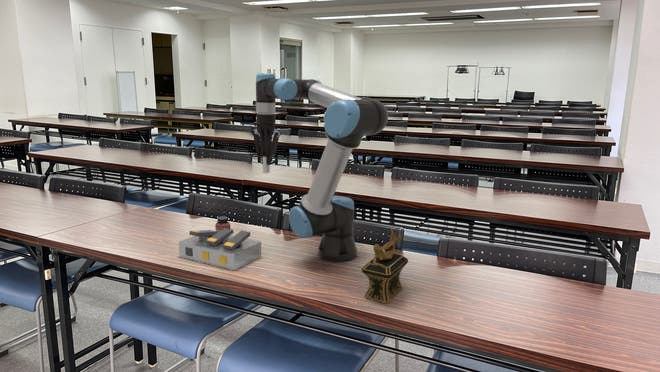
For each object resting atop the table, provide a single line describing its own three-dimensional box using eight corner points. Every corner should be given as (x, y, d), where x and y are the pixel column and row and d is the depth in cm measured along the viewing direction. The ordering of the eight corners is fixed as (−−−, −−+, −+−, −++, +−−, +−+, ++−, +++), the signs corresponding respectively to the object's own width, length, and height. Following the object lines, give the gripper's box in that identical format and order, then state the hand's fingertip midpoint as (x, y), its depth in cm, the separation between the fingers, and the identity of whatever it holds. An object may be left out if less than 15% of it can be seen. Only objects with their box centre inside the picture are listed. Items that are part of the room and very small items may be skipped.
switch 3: (250, 235, 175) (249, 231, 174) (232, 250, 166) (231, 246, 166) (241, 233, 177) (241, 230, 176) (223, 248, 168) (222, 244, 167)
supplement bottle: (224, 240, 195) (224, 214, 192) (233, 244, 191) (233, 217, 188) (212, 244, 190) (212, 217, 188) (222, 247, 186) (221, 220, 184)
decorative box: (388, 307, 139) (391, 244, 135) (359, 299, 144) (361, 238, 140) (411, 284, 156) (415, 227, 152) (384, 277, 161) (387, 222, 157)
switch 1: (217, 235, 182) (217, 231, 182) (197, 236, 173) (197, 232, 173) (209, 233, 184) (209, 229, 184) (189, 234, 174) (189, 230, 174)
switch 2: (233, 232, 179) (233, 229, 178) (214, 245, 170) (214, 241, 169) (225, 231, 180) (224, 227, 180) (206, 243, 171) (205, 240, 171)
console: (261, 256, 178) (261, 239, 176) (233, 270, 164) (233, 252, 162) (208, 244, 189) (208, 228, 188) (178, 257, 175) (177, 239, 174)
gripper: (285, 113, 184) (284, 172, 188) (258, 112, 189) (258, 169, 194) (274, 114, 177) (274, 175, 182) (246, 113, 183) (247, 172, 188)
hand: (266, 172), depth 188 cm, fingers closed
